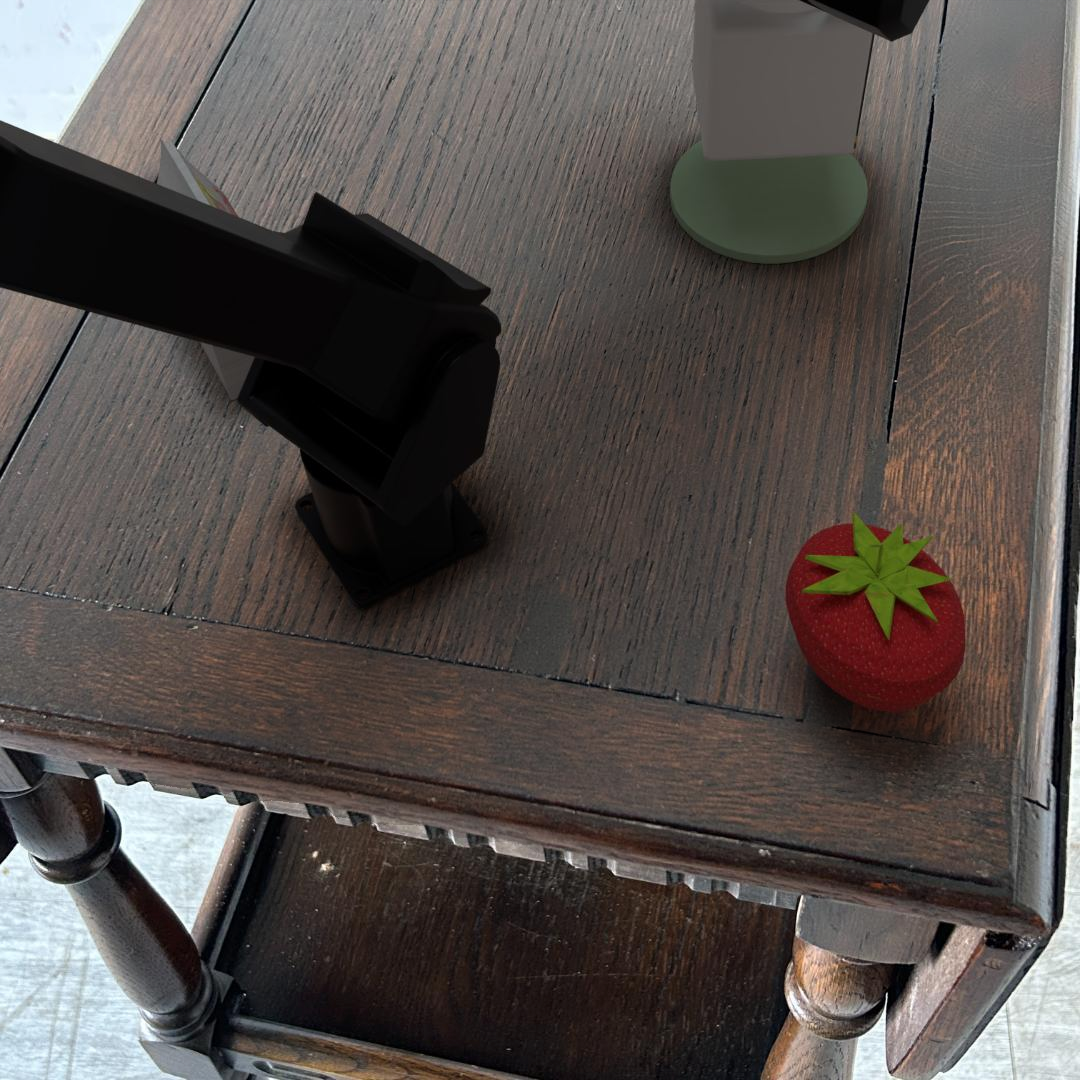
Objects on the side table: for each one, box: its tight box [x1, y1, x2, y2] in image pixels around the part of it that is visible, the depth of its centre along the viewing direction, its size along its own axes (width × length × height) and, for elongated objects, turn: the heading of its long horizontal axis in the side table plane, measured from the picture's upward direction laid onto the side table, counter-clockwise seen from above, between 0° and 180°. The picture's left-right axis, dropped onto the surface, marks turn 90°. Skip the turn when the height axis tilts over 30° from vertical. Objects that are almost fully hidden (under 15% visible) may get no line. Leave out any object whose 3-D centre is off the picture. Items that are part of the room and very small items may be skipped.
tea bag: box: [156, 135, 255, 401], centre depth 64 cm, size 4×7×10 cm, turn 28°
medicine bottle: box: [691, 0, 876, 161], centre depth 63 cm, size 7×7×12 cm
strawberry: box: [785, 511, 966, 713], centre depth 52 cm, size 6×8×10 cm
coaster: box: [669, 139, 869, 265], centre depth 72 cm, size 10×10×1 cm
